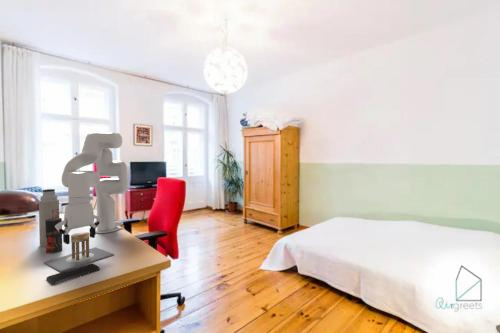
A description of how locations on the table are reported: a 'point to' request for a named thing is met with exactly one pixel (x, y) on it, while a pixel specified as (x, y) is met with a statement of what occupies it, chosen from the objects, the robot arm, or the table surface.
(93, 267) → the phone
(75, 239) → the stool
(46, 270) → the table surface
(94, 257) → the mat
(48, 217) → the thermos bottle
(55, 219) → the deodorant
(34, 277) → the table surface
